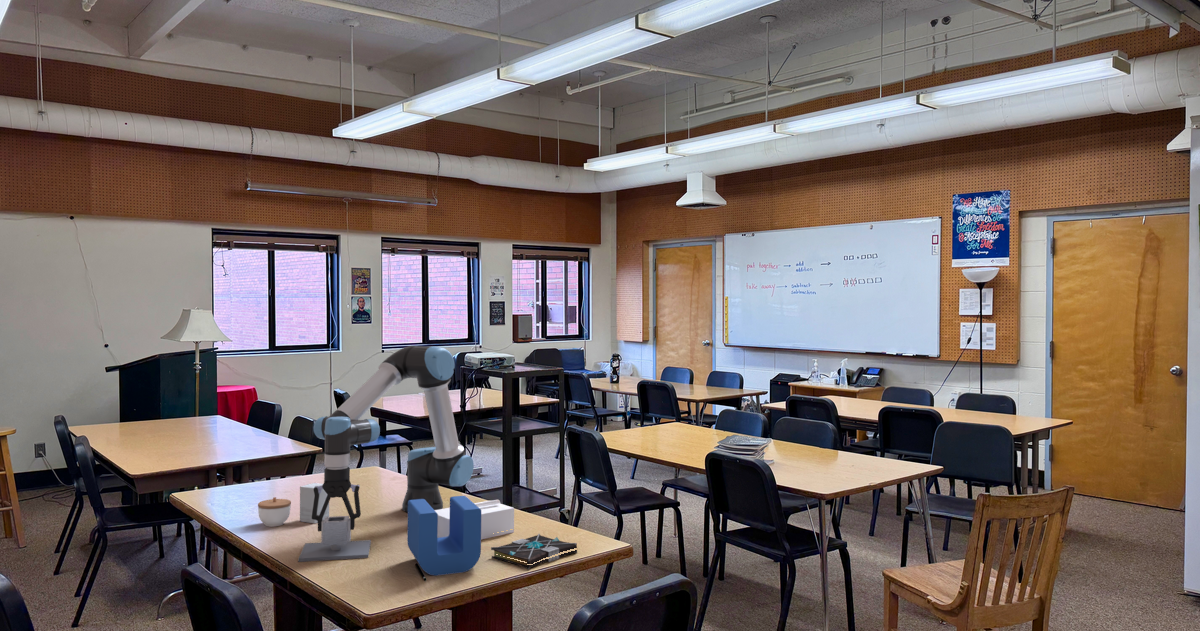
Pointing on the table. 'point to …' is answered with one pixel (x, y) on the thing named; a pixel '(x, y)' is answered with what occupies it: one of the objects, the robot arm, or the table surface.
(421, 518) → the block
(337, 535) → the block
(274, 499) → the lidded jar
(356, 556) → the plate
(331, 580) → the table surface
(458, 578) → the table surface
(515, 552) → the book
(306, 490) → the supplement box
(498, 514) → the tissue box
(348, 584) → the table surface
